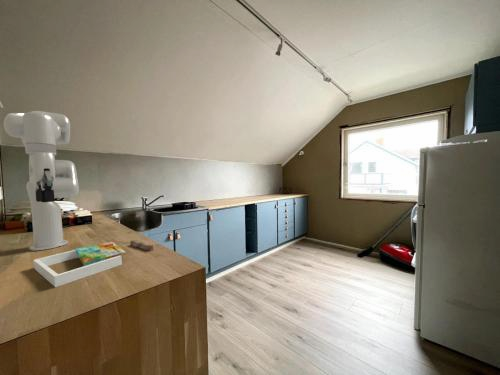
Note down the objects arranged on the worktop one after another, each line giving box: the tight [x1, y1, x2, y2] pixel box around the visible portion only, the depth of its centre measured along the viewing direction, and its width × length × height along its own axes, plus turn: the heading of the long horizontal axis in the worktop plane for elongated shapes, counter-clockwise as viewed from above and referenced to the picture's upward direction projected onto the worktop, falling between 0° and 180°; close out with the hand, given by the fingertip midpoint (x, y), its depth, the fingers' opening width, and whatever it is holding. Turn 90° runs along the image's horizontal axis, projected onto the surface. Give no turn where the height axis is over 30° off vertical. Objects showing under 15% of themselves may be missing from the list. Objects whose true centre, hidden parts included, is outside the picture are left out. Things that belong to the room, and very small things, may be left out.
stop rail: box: [129, 239, 154, 252], centre depth 87 cm, size 16×1×2 cm, turn 56°
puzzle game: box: [75, 241, 127, 267], centre depth 75 cm, size 12×5×20 cm
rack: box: [33, 249, 123, 288], centre depth 70 cm, size 24×17×3 cm
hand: (45, 201), depth 72 cm, fingers open, 6 cm apart
